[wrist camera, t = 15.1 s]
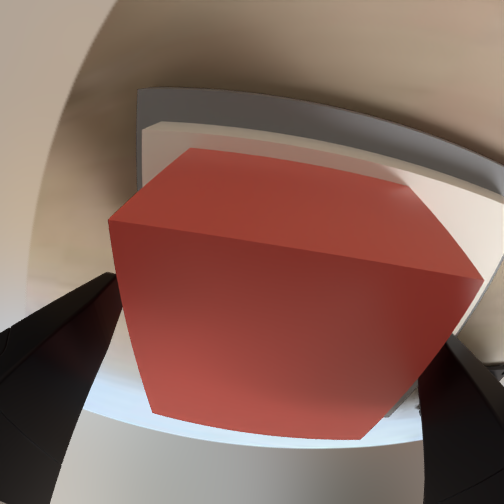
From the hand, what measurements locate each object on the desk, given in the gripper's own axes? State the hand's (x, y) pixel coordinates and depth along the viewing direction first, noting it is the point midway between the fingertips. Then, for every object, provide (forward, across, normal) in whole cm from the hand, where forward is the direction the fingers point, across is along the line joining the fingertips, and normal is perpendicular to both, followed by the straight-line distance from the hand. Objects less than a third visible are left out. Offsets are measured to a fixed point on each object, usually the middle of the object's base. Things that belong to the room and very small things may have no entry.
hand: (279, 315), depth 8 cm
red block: (+3, 0, 0) cm, 3 cm away
